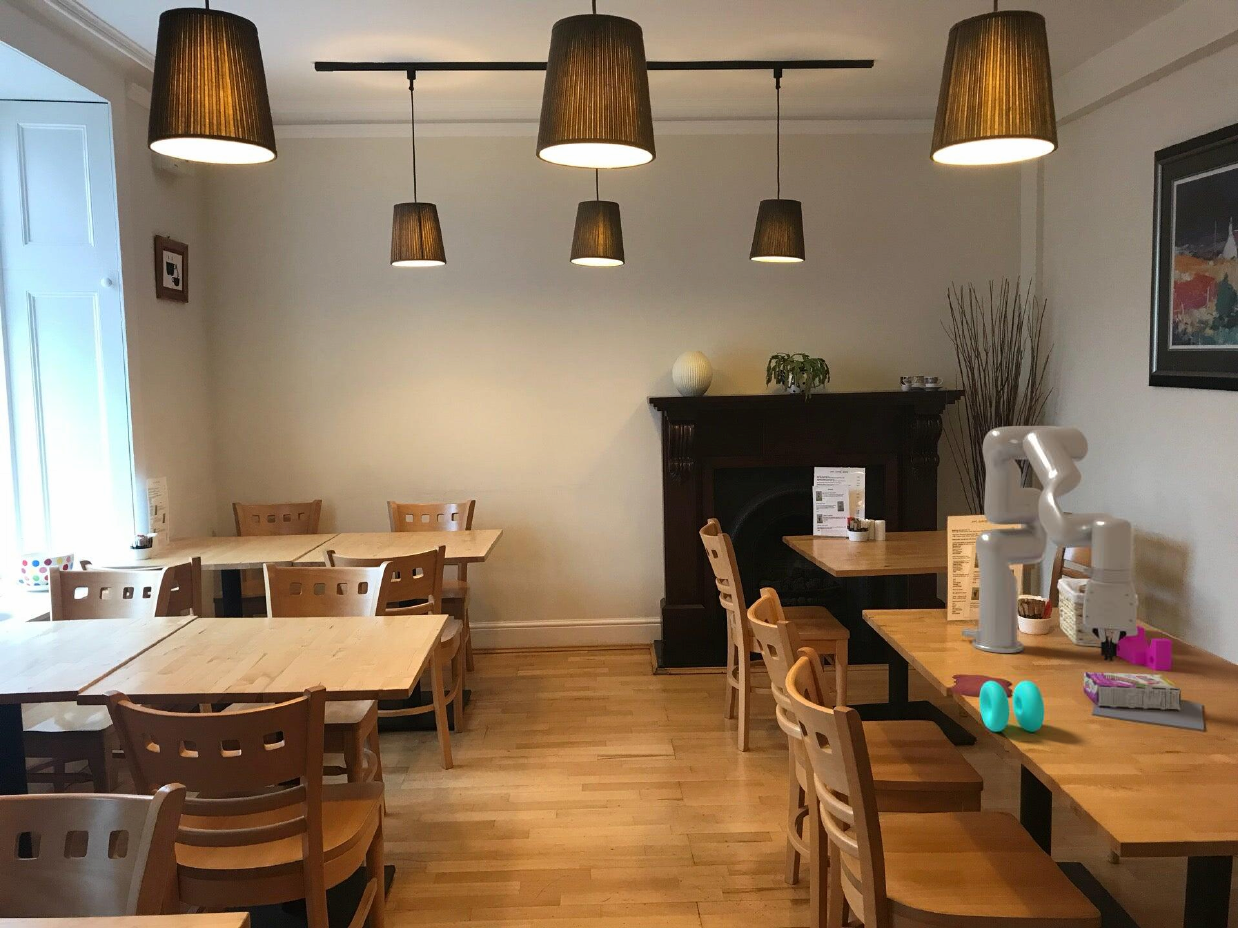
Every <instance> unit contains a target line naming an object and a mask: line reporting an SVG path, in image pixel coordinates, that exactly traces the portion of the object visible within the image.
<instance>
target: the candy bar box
mask: <svg viewBox="0 0 1238 928" xmlns="http://www.w3.org/2000/svg"><path fill="white" fill-rule="evenodd" d="M1181 691H1182V690H1181V688H1179V687H1178V686H1177V685H1176V684H1174V683H1173V682H1172V681H1171V680H1169V678H1167V677H1165V675H1163V674H1153V673H1152V674H1146V673H1124V672H1123V673H1119V672H1101V671H1099V672H1098V671H1096V672H1095V671H1084V672H1083V693H1084V694H1085V695H1086V696H1087V697H1088V698H1089V699H1090V700H1091V701H1092V702H1093V703H1094V704H1096V706H1098V707H1116V708H1139V709H1158V710H1179V711H1180V703H1181V701H1182V695H1181V693H1182V692H1181Z"/></svg>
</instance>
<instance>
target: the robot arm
mask: <svg viewBox="0 0 1238 928" xmlns="http://www.w3.org/2000/svg"><path fill="white" fill-rule="evenodd" d="M1088 451H1089V445H1088V440H1087V437H1086V436H1085V435H1084V433H1083V432H1082V431H1081V430H1080V429H1078V428H1075V427H1065V426H1055V425H1013V426H1012V425H1011V426H1010V425H1009V426H999V427H995V428H993V429H991V430H989V431H988V432H987V433H986V435H985V437H984V438H983V444H982V455H983V460H984V465H985V484H984V485H985V487H984V505H983V507H984V508H983V509H984V510H983V511H984V517H985V520H987V521H988V522H989V523H990V524H994V525H1003V526H1005V525H1008V526H1009V525H1021V527H1020V528H1018V527H1017V528H994V529H993V528H992V529H987V530H985V531H982V532H981V533H979V534H978V536H977V537H976V540H975V552H976V557H977V564H978V565H977V566H978V579H979V582H978V584H979V585H978V586H979V587H978V588H979V589H978V591H979V593H978V595H979V597H978V615H979V616H978V628H974V629H970V628H966V627H965V628H964V627H963V628H961V636H964V637H965V638H973V640H972V646H973V647H974V648H975V649H977V650H981V651H983V652H989V653H990V652H991V653H998V654H999V653H1001V654H1013V653H1019V652H1022V651H1024V650H1025V649H1024V646H1025V645H1024V643H1022V642H1021V641H1018V622H1019V621H1018V613H1019V612H1018V610H1019V609H1018V607H1019V601H1018V600H1019V584H1018V578H1017V577H1016V576H1015V574H1014V572H1013V571H1012V569H1011V568H1010V566H1014V565H1015V566H1016V565H1032V564H1038V563H1039V562H1041V561H1042V560H1043V559H1044V557H1045V554H1046V551H1047V543H1048V542H1047V541H1048V538H1049V540H1050V541H1051V542H1052V543H1053V544H1054V545H1056V546H1057V547H1058V548H1063V549H1071V548H1072V549H1073V548H1091V550H1090V551H1091V553H1090V554H1091V555H1090V556H1091V557H1090V561H1091V562H1090V565H1091V566H1089V567H1088V568H1083V575H1086V576H1088V577H1090V578H1088V579H1089V580H1088V581H1087V583H1086V587H1085V589H1084V593H1083V594H1084V604H1083V625H1082V629H1083V630H1085V631H1088V632H1092V633H1094V634H1095V635H1096V636H1097V637H1098V638H1099V639H1100V641H1101V647H1100V656H1103V657H1104V659H1103V660H1104V661H1106V662H1107V661H1109V662H1113V661H1114V658H1117V656H1118V655H1117V643H1118V641H1120V640H1121V639H1122V638H1124V637H1125V636H1133V635H1137V634H1138V631H1137V627H1136V626H1137V619H1138V618H1137V616H1138V615H1137V614H1138V612H1137V611H1138V606H1137V607H1136V595H1137V593H1136V589H1135V584H1134V582H1131V564H1132V562H1131V560H1132V557H1131V556H1132V524H1131V523H1130V521H1129V520H1128V519H1125V518H1119V517H1113V516H1112V515H1109V514H1107V513H1102V512H1097V513H1096V512H1092V513H1084V512H1083V513H1064V512H1063V510H1062V508H1061V507H1060V505H1059V502H1058V500H1057V499H1059V498H1061V497H1063V496H1065V495H1067V494H1069V493H1070V492H1072V491H1074V490H1075V489H1076V488H1077V487H1078V486H1079V485H1080V483H1081V480H1082V474H1081V472H1080V470H1079V469H1078V467H1077V465H1076V463H1077V462H1080V461H1082V460H1083V459H1085V458H1086V456H1087V453H1088ZM1016 460H1028V462H1029V463H1030V465H1031V467H1032V469H1033V470H1034V472H1035V474H1036V476H1037V478H1038V480H1039V482H1040V484H1041V485H1042V487H1043V489H1042V490H1041V489H1038V488H1035V487H1021V485H1022V484H1021V483H1022V482H1021V481H1022V471H1021V468H1020V467H1019V465H1018V463H1017V462H1016ZM1136 608H1137V609H1136ZM1106 629H1109V630H1114V632H1113V637H1112V638H1111V640H1110V642H1109V640H1108V637H1107V636H1106Z"/></svg>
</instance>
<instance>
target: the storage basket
mask: <svg viewBox="0 0 1238 928" xmlns="http://www.w3.org/2000/svg"><path fill="white" fill-rule="evenodd" d="M1089 579H1090V578H1066V577H1065V578H1064V577H1063V578H1060V579H1058V583H1057V586H1056V588H1057V589H1058V592H1059V593H1058V597H1059V598H1058V600H1059V602H1058V607H1059V610H1058V611H1059V626H1060V629H1061V630H1062V632H1063V633H1064V634H1065V635H1066V636H1067V637H1068V638H1069V639H1070V641H1072V643H1074V645H1077V646H1081V647H1082V646H1086V647H1098V648H1099V647H1100V648H1101V641H1100V639H1099V638H1098V637H1097V636H1096V635H1095V634H1094V633H1092V632H1088V631H1085V630H1083V629H1082V625H1083V604H1084V593H1083V592H1080V590H1085V587H1086V583H1087V581H1088V580H1089ZM1138 606H1139V596H1138V595H1137V594H1136V607H1137V608H1136V609H1137V610H1138ZM1113 632H1114V630H1109V629H1106V636H1107V637H1108V640H1109V642H1110V640H1111V638H1112V637H1113Z"/></svg>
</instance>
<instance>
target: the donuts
mask: <svg viewBox="0 0 1238 928" xmlns="http://www.w3.org/2000/svg"><path fill="white" fill-rule="evenodd" d="M1012 693H1013V694H1012V709H1013V714H1014V716H1015V719H1016V721H1017V723H1018V724H1019V726H1020V727H1021V728H1022V729H1023V730H1025V731H1027V732H1029V733H1030V732H1031V733H1033V732H1036V731H1038V730H1040V729H1041V727H1042V725H1043V723H1044V720H1045V705H1044V700H1043V696H1042V693H1041V691H1040V688H1038V686H1037V685H1036V684H1035V683H1034V682H1032V681H1029V680H1022V681H1020V682H1019V683H1018V684H1017V685H1016V686H1015V688H1014V691H1013V692H1012ZM978 699H979V711H980V714H981V718H982V719H981V720H983V723H984V725H985V727H986V728H987V729H988V730H990V731H991V732H994V733H998V732H1002V731H1003V730H1005V728H1006V726H1008V723H1009V718H1010V703H1009V702H1010V701H1009V698H1007V695H1006V692H1005V691H1004V689H1003V687H1002V686H1001V685H1000V684H998V683H997V682H995V681H988V682H986V683H985V684H984V685H983V686H982V688H981V691H980V697H978Z"/></svg>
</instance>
